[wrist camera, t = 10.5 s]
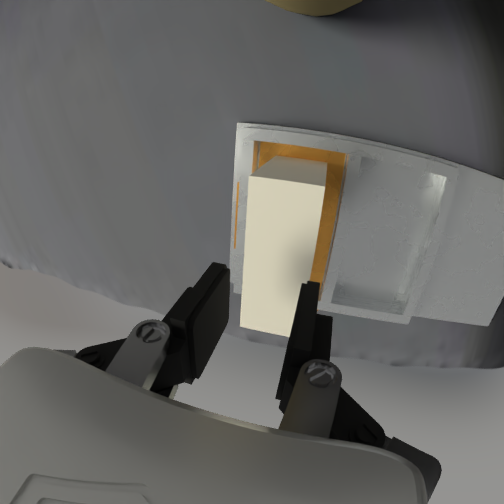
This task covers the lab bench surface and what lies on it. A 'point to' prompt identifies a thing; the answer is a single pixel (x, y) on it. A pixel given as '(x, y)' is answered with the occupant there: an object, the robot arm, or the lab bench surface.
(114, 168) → the lab bench surface
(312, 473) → the robot arm
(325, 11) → the squeeze bottle
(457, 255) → the grey framed tray board
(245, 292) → the tall ivory prism
